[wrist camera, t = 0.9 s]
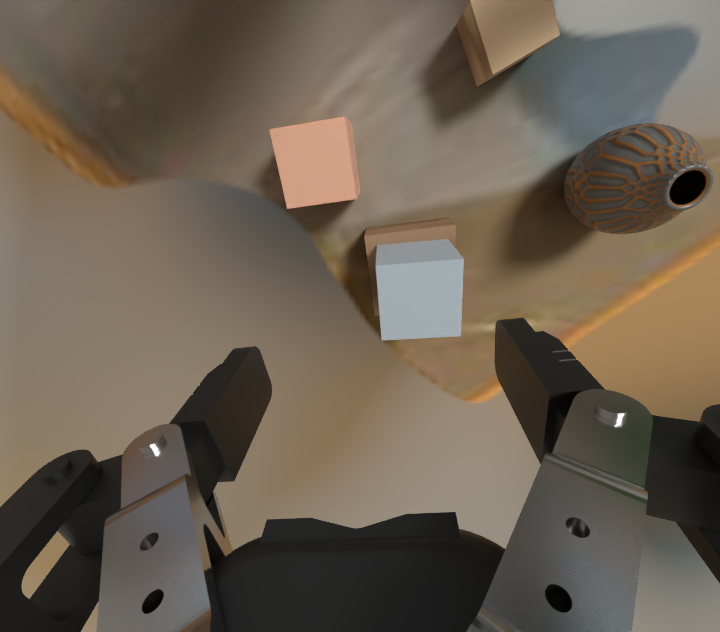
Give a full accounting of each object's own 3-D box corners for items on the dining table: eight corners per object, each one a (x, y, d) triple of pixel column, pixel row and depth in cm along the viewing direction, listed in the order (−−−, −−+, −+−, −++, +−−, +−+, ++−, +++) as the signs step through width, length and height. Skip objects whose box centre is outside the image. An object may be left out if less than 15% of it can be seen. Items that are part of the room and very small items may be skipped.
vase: (546, 229, 28) (610, 257, 20) (553, 136, 25) (633, 127, 17) (635, 217, 27) (739, 241, 19) (653, 120, 24) (785, 102, 16)
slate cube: (376, 244, 26) (375, 265, 21) (447, 239, 26) (463, 258, 21) (381, 308, 28) (381, 340, 23) (447, 304, 28) (460, 336, 23)
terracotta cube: (289, 134, 26) (269, 129, 22) (351, 123, 25) (344, 116, 21) (302, 200, 28) (287, 208, 24) (360, 192, 28) (356, 198, 23)
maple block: (455, 25, 23) (469, 0, 19) (514, -13, 22) (541, -47, 18) (476, 87, 24) (492, 75, 20) (532, 54, 23) (560, 34, 19)
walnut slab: (366, 227, 29) (364, 236, 26) (447, 217, 28) (455, 224, 25) (375, 300, 32) (374, 316, 29) (449, 293, 31) (456, 308, 28)
